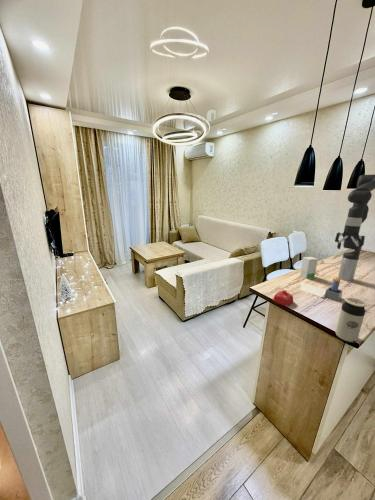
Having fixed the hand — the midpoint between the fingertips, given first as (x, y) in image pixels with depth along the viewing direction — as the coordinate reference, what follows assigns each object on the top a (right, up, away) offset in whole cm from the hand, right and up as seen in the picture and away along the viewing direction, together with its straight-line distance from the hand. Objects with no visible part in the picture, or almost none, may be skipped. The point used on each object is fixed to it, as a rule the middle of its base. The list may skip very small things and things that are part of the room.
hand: (346, 250), depth 131 cm
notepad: (-18, -27, +7) cm, 33 cm away
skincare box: (-9, -21, +29) cm, 37 cm away
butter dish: (-45, -31, -9) cm, 55 cm away
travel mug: (-29, -39, -37) cm, 61 cm away
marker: (-10, -29, -2) cm, 31 cm away
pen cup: (-10, -29, -2) cm, 31 cm away
